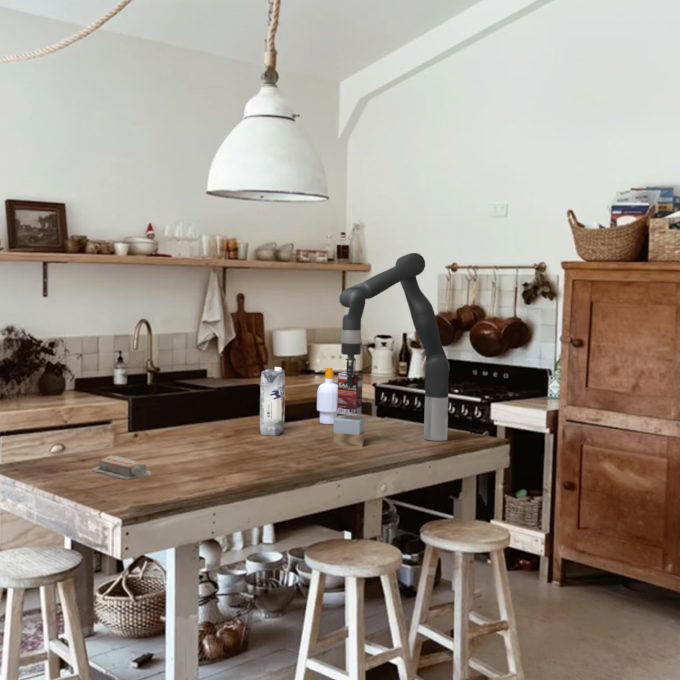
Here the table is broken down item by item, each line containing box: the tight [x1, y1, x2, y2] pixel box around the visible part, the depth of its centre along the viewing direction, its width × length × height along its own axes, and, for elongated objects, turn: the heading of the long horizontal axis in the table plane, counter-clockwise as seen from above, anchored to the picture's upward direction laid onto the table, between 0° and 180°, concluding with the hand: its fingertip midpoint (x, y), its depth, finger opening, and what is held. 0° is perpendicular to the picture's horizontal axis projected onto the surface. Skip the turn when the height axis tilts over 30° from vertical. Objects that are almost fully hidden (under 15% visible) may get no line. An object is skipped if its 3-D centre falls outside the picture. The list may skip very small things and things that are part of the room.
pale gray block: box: [332, 415, 366, 435], centre depth 337 cm, size 10×10×5 cm
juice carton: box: [259, 366, 286, 436], centre depth 353 cm, size 9×10×27 cm
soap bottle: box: [316, 367, 338, 425], centre depth 381 cm, size 10×10×24 cm
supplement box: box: [337, 371, 364, 417], centre depth 336 cm, size 9×5×16 cm, turn 63°
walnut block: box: [332, 430, 365, 447], centre depth 338 cm, size 11×11×5 cm
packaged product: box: [91, 454, 152, 481], centre depth 279 cm, size 18×5×10 cm
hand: (350, 385), depth 336 cm, fingers closed on supplement box, 6 cm apart
